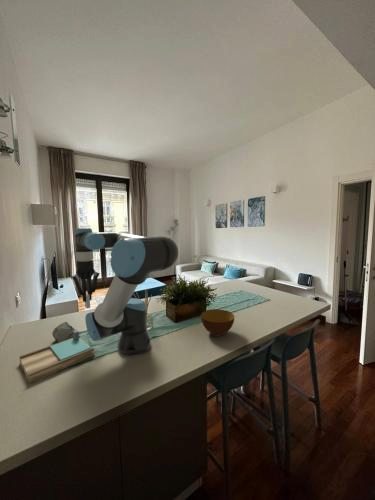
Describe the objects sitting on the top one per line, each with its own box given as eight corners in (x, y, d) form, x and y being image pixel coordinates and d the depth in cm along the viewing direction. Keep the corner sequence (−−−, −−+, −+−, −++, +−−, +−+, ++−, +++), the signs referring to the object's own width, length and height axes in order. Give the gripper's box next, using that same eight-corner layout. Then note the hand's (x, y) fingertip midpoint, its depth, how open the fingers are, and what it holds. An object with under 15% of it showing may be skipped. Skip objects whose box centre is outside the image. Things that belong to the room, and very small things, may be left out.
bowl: (237, 329, 121) (237, 312, 120) (229, 345, 105) (229, 325, 104) (207, 323, 129) (207, 307, 128) (195, 337, 113) (195, 318, 112)
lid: (90, 349, 97) (90, 339, 97) (60, 361, 89) (60, 350, 88) (78, 338, 107) (77, 328, 107) (50, 348, 99) (49, 338, 98)
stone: (65, 317, 115) (55, 325, 105) (80, 328, 116) (73, 337, 106) (53, 331, 115) (42, 340, 105) (69, 342, 116) (60, 352, 106)
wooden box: (94, 355, 98) (93, 348, 97) (29, 383, 80) (28, 374, 80) (79, 341, 109) (79, 335, 109) (20, 363, 92) (19, 356, 91)
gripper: (95, 257, 112) (97, 302, 115) (67, 260, 103) (70, 309, 105) (101, 259, 107) (103, 305, 110) (73, 262, 98) (76, 313, 100)
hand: (87, 307), depth 108 cm, fingers closed
